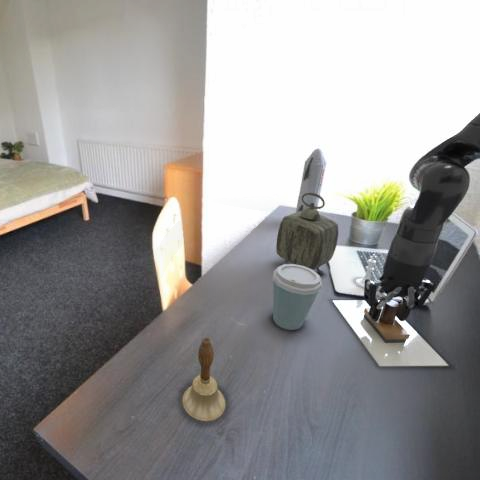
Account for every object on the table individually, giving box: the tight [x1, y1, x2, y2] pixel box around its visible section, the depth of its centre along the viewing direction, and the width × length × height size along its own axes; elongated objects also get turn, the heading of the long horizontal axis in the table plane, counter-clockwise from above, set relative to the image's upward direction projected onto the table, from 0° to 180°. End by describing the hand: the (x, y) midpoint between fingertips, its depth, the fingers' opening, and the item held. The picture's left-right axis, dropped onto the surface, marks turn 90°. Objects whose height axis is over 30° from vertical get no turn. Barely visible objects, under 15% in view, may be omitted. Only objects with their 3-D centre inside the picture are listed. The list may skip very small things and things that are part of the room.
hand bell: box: [182, 337, 226, 422], centre depth 59 cm, size 8×8×16 cm
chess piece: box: [355, 253, 378, 288], centre depth 93 cm, size 5×5×10 cm
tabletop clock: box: [275, 193, 339, 276], centre depth 97 cm, size 14×9×25 cm, turn 34°
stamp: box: [364, 299, 410, 343], centre depth 76 cm, size 9×5×8 cm, turn 0°
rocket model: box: [295, 148, 327, 213], centre depth 126 cm, size 14×7×30 cm, turn 125°
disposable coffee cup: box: [272, 263, 323, 331], centre depth 78 cm, size 11×11×15 cm
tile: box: [331, 299, 450, 368], centre depth 78 cm, size 14×22×1 cm, turn 179°
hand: (386, 318), depth 77 cm, fingers open, 5 cm apart
